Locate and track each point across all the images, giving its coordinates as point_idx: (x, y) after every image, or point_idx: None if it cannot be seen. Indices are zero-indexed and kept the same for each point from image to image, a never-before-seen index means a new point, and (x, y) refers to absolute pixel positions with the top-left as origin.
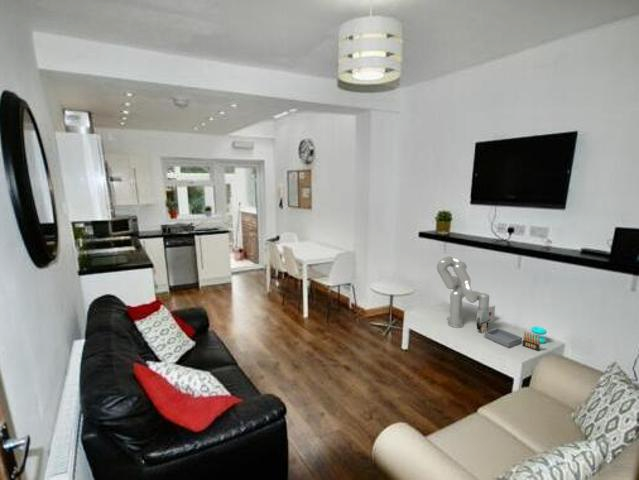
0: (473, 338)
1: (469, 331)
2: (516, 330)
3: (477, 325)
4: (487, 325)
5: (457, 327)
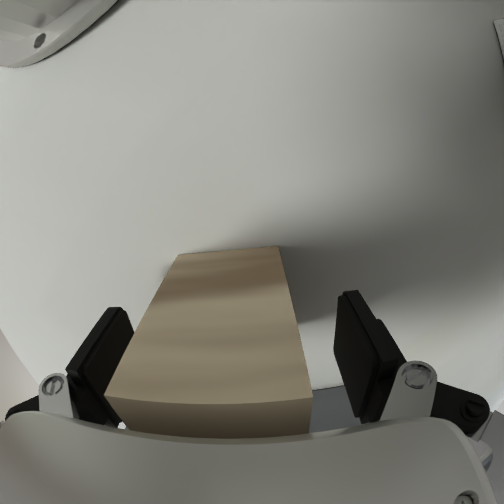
0: (37, 350)
1: (55, 213)
2: (498, 364)
3: (68, 379)
4: (345, 385)
5: (9, 66)
